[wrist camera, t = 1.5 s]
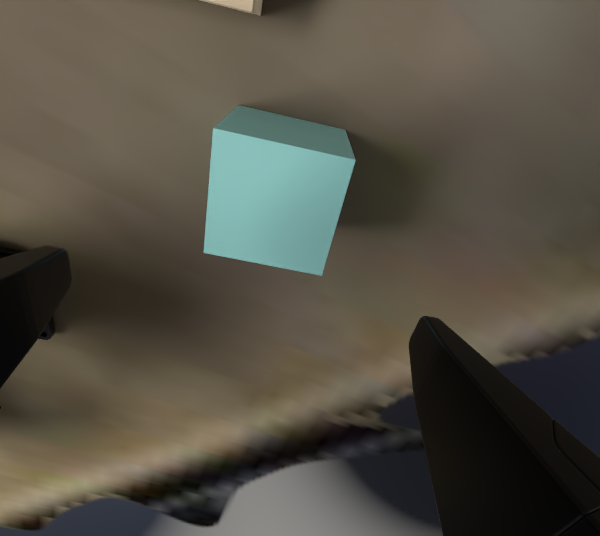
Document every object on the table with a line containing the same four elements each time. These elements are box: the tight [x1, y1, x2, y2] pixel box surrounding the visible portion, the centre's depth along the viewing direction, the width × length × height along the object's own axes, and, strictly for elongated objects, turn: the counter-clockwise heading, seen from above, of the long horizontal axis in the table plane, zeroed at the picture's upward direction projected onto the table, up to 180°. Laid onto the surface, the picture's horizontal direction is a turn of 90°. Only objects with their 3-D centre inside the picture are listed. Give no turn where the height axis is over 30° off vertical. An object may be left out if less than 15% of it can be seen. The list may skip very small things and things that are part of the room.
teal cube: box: [204, 105, 356, 276], centre depth 16 cm, size 5×5×5 cm
